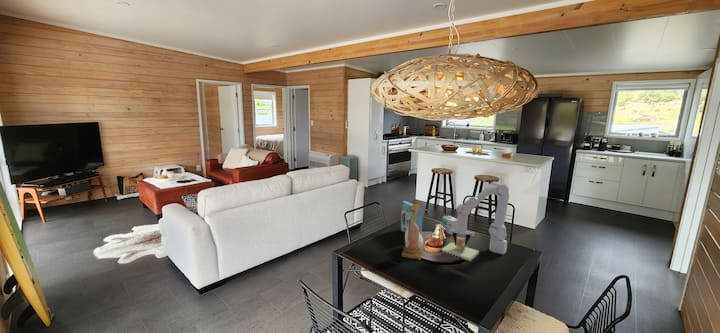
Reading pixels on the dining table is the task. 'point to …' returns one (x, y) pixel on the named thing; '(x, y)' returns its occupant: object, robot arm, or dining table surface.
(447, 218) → the light bulb box
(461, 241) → the maple block
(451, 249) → the green tile
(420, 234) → the figurine
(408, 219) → the gum box
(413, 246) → the bird sculpture
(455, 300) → the dining table surface
